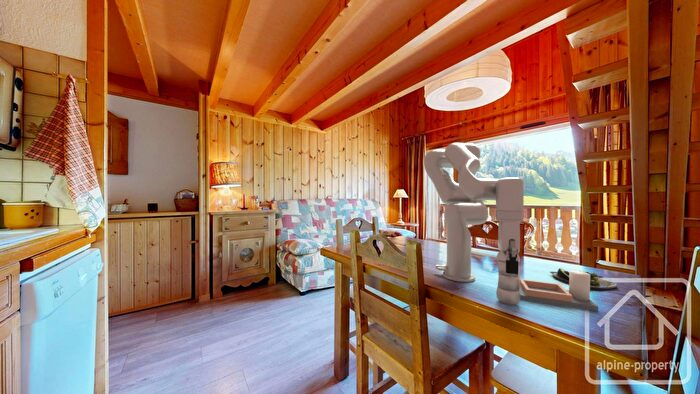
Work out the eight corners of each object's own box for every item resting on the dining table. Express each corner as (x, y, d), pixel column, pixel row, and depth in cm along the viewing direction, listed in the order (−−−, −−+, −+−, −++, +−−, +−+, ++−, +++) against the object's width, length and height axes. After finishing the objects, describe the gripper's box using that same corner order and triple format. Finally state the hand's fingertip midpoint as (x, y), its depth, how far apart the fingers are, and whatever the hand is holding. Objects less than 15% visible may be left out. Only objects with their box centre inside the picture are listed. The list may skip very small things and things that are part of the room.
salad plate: (581, 274, 110) (581, 263, 110) (632, 289, 92) (632, 277, 92) (543, 276, 108) (543, 265, 108) (587, 292, 90) (587, 279, 90)
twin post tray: (505, 297, 85) (505, 269, 85) (500, 285, 96) (500, 260, 96) (598, 311, 75) (598, 280, 75) (581, 296, 86) (581, 269, 86)
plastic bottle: (511, 309, 76) (512, 244, 75) (491, 300, 82) (492, 240, 82) (525, 305, 78) (526, 242, 78) (504, 297, 85) (505, 239, 84)
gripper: (493, 214, 89) (492, 261, 89) (499, 218, 73) (499, 275, 73) (517, 214, 86) (517, 263, 86) (530, 218, 70) (529, 279, 70)
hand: (509, 269), depth 80 cm, fingers open, 9 cm apart
